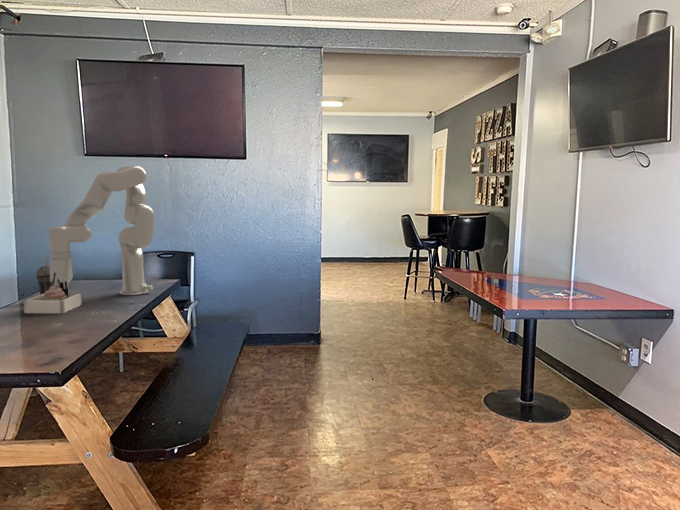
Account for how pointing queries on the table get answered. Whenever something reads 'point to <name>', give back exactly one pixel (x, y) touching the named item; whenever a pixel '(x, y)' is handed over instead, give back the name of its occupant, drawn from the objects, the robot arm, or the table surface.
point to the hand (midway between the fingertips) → (63, 297)
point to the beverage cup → (44, 278)
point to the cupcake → (54, 294)
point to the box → (51, 304)
